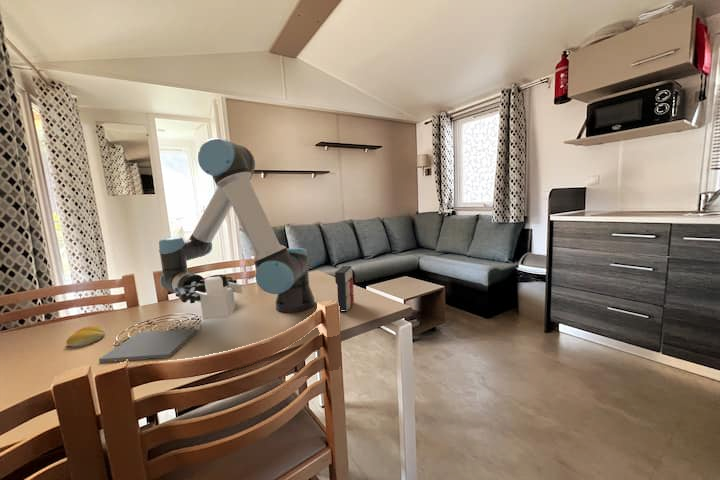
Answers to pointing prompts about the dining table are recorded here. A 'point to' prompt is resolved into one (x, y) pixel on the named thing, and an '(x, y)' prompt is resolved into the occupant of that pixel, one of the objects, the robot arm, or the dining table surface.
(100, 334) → the yellow seashell
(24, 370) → the dining table surface
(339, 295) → the dark grey box
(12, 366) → the dining table surface
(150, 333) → the mat
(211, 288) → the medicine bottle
